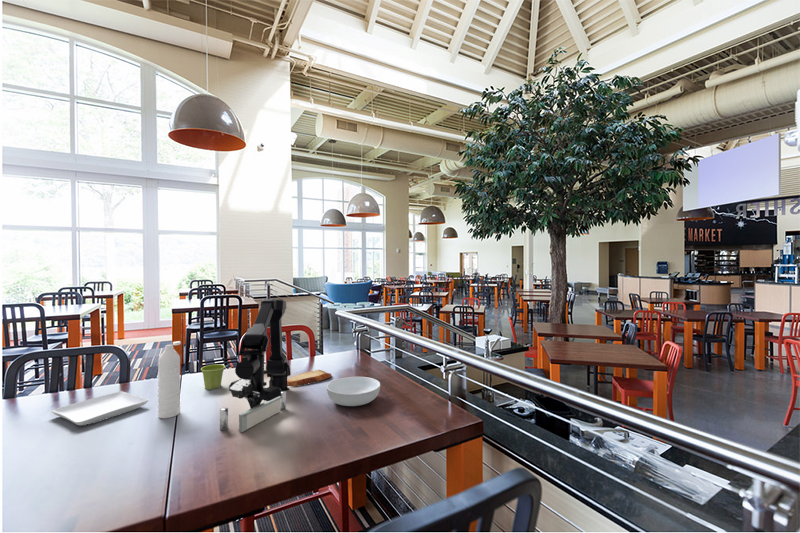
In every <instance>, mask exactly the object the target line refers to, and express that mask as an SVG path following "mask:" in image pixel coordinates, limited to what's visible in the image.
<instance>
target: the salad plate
mask: <svg viewBox="0 0 800 533" xmlns="http://www.w3.org/2000/svg"><path fill="white" fill-rule="evenodd" d="M148 402H149V399H148V398H145V397H141V396H139V395H135V394H132V393H129V392H126V391H123V390H120V391H116V392H112V393H109V394H105V395H101V396H96V397H93V398H89V399H85V400H82V401H78V402H75V403H71V404H68V405H65V406H61V407H58V408H54V409H52V410H51V413H52V414H54V415H55V416H58V417H60V418H63V419H65V420H67V421H70V422H72V423H73V424H75V425H76V426H88V425H92V424H91V423H93V424H95V423H94V422H96V423H98V422H97V421H99V422H101V421H100V420H102V421H104V420H103V419H105V420H107V419H106V418H109V419H111V418H110V417H112V418H114V417H113V416H115V417H117V416H116V415H118V416H120V415H119V414H121V415H123V414H122V413H124V414H126V412H127V413H130V412H133V411H134V410H136V409H139V408H141V407H143V406H144V405H146V404H147V403H148ZM87 424H88V425H87Z"/></svg>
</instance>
